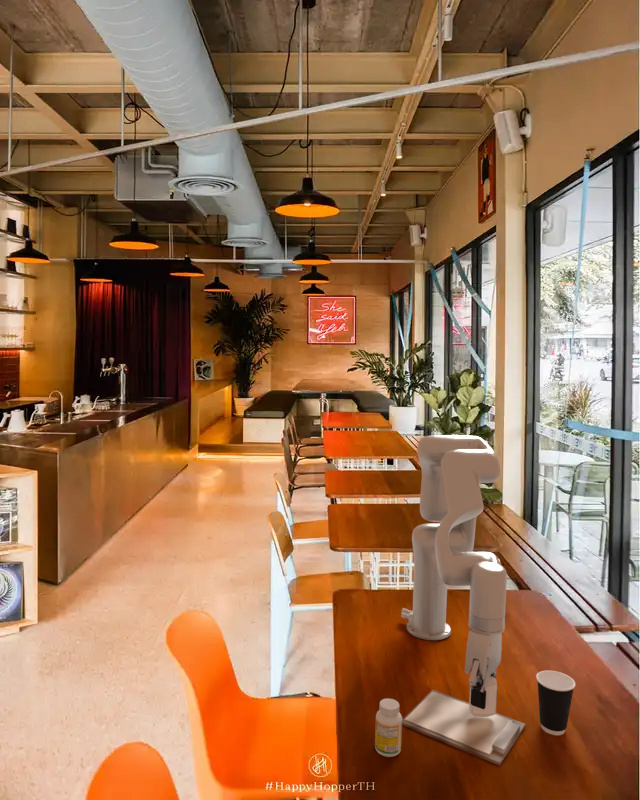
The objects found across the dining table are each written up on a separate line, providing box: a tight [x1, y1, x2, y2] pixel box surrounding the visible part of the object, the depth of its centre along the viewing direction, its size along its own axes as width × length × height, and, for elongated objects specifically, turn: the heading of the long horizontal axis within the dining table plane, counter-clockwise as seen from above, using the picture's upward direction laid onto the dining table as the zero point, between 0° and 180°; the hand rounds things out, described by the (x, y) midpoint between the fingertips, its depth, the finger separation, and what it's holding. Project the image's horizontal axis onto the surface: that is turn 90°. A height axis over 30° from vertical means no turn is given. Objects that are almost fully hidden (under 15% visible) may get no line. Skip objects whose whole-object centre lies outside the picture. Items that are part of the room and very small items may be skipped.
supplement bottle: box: [374, 698, 403, 758], centre depth 124 cm, size 5×5×10 cm
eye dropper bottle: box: [468, 672, 498, 717], centre depth 134 cm, size 4×6×12 cm
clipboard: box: [402, 689, 526, 767], centre depth 133 cm, size 22×16×2 cm
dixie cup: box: [535, 669, 576, 736], centre depth 132 cm, size 8×8×11 cm
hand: (482, 699), depth 135 cm, fingers closed on eye dropper bottle, 4 cm apart
